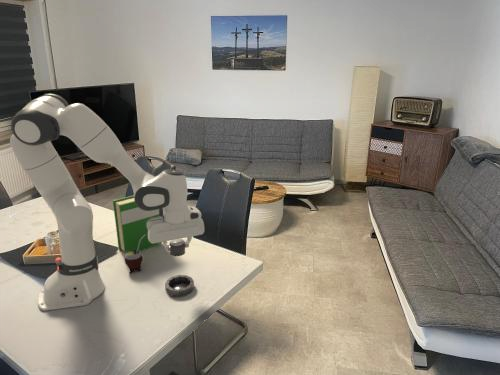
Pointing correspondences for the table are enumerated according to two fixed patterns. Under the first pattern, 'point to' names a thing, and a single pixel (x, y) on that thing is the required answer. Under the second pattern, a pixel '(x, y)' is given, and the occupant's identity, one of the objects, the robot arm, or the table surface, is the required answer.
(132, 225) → the hardback book
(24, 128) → the robot arm
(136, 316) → the table surface
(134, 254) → the mate gourd
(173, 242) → the cap
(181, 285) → the grey ashtray
